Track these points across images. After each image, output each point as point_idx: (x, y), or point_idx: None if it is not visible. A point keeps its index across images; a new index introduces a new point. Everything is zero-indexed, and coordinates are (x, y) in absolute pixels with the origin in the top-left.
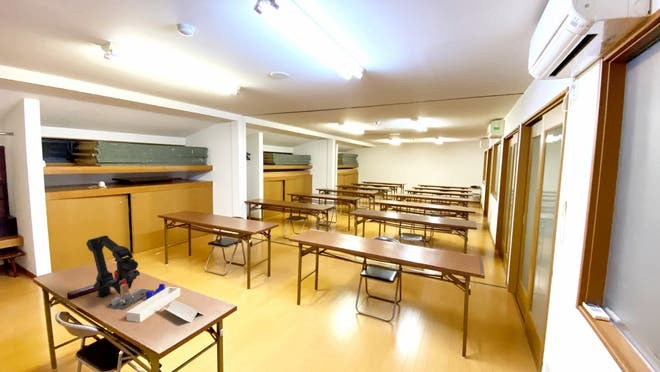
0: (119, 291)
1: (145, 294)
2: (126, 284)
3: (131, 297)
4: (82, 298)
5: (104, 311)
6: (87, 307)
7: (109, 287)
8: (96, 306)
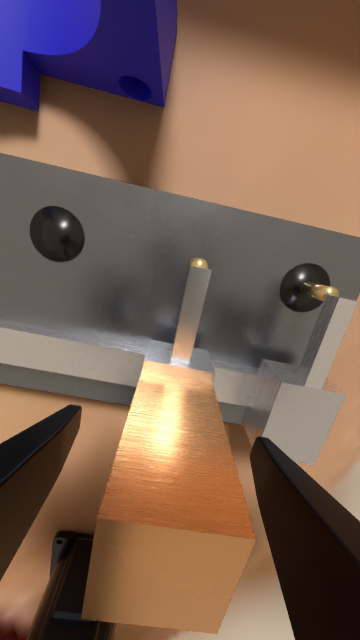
0: (305, 476)
1: (59, 181)
2: (122, 546)
3: (146, 316)
4: (144, 635)
5: (347, 402)
6: (264, 544)
7: (47, 632)
8: (256, 505)
